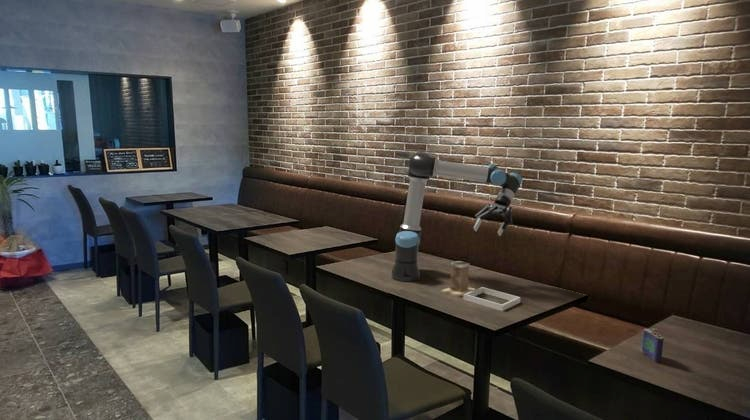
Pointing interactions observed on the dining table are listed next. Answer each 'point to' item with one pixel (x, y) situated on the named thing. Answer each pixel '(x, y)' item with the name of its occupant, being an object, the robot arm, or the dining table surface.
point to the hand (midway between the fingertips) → (486, 231)
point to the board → (455, 293)
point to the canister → (459, 276)
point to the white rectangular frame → (501, 307)
